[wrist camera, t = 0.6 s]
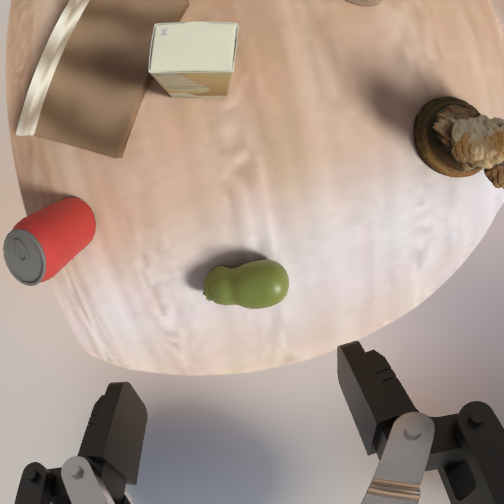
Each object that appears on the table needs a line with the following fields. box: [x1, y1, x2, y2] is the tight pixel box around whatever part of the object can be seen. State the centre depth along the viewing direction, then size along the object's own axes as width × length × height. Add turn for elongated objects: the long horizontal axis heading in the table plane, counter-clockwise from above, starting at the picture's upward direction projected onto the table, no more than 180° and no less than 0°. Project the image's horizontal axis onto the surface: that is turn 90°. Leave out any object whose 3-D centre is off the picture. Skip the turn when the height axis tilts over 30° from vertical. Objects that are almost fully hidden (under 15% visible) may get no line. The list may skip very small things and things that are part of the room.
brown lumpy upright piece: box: [414, 97, 504, 189], centre depth 24 cm, size 18×12×17 cm, turn 100°
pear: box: [203, 260, 289, 309], centre depth 34 cm, size 6×5×10 cm
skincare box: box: [148, 21, 239, 98], centre depth 22 cm, size 6×4×12 cm
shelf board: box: [16, 0, 189, 158], centre depth 23 cm, size 20×13×5 cm, turn 158°
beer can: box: [3, 197, 96, 286], centre depth 26 cm, size 7×7×12 cm
